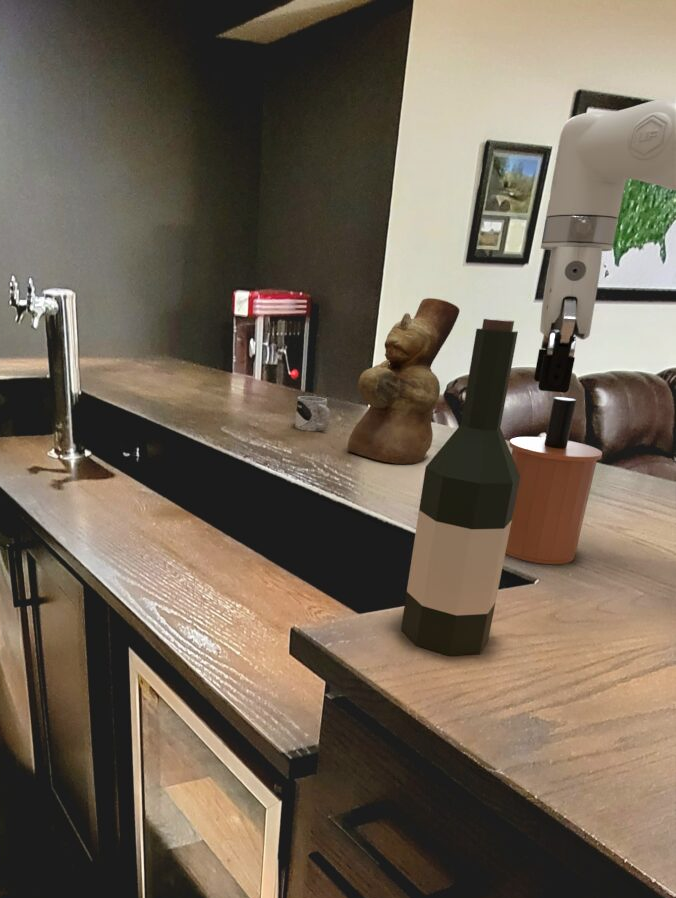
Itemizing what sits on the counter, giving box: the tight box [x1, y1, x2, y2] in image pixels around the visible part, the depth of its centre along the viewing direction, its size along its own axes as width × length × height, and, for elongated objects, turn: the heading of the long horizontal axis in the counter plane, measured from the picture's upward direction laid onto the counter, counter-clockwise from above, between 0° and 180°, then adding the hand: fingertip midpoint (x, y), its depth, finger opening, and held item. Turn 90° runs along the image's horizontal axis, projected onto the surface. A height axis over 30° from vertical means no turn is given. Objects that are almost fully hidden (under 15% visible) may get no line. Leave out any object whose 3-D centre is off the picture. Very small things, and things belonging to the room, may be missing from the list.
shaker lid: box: [508, 396, 603, 462], centre depth 90 cm, size 11×11×7 cm
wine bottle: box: [400, 318, 520, 657], centre depth 66 cm, size 8×8×30 cm
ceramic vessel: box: [347, 297, 461, 465], centre depth 140 cm, size 16×22×30 cm
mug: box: [294, 395, 331, 432], centre depth 162 cm, size 10×7×7 cm
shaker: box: [505, 448, 598, 565], centre depth 93 cm, size 10×10×14 cm
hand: (549, 386), depth 88 cm, fingers open, 9 cm apart
